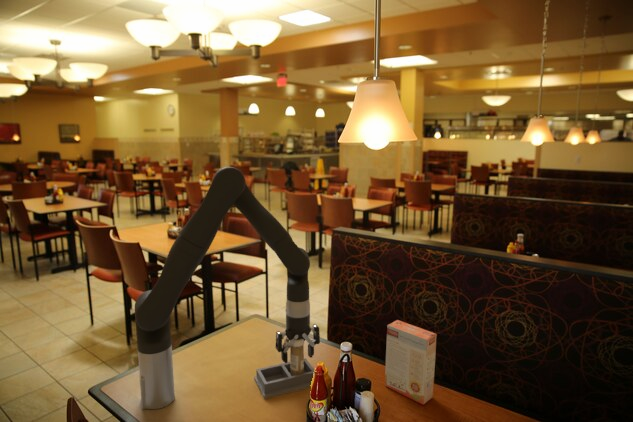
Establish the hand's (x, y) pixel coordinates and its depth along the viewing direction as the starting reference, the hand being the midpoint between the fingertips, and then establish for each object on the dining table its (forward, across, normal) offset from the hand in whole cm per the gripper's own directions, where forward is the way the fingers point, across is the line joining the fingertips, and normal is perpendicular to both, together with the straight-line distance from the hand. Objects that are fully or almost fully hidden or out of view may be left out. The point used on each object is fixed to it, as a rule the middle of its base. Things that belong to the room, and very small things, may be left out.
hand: (297, 359), depth 135 cm
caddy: (+7, -4, 0) cm, 8 cm away
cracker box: (+7, +29, -20) cm, 36 cm away
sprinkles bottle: (+6, 0, 0) cm, 6 cm away
